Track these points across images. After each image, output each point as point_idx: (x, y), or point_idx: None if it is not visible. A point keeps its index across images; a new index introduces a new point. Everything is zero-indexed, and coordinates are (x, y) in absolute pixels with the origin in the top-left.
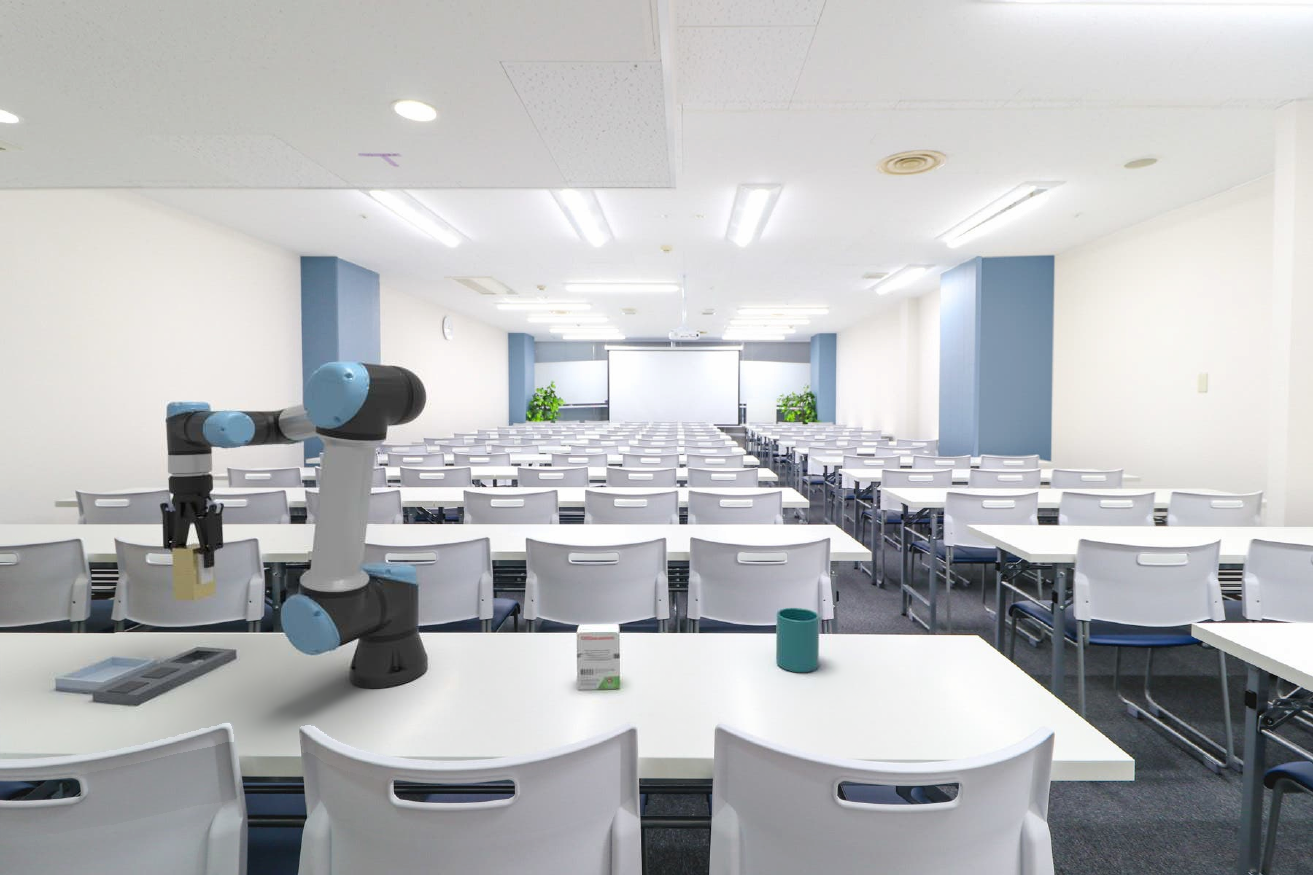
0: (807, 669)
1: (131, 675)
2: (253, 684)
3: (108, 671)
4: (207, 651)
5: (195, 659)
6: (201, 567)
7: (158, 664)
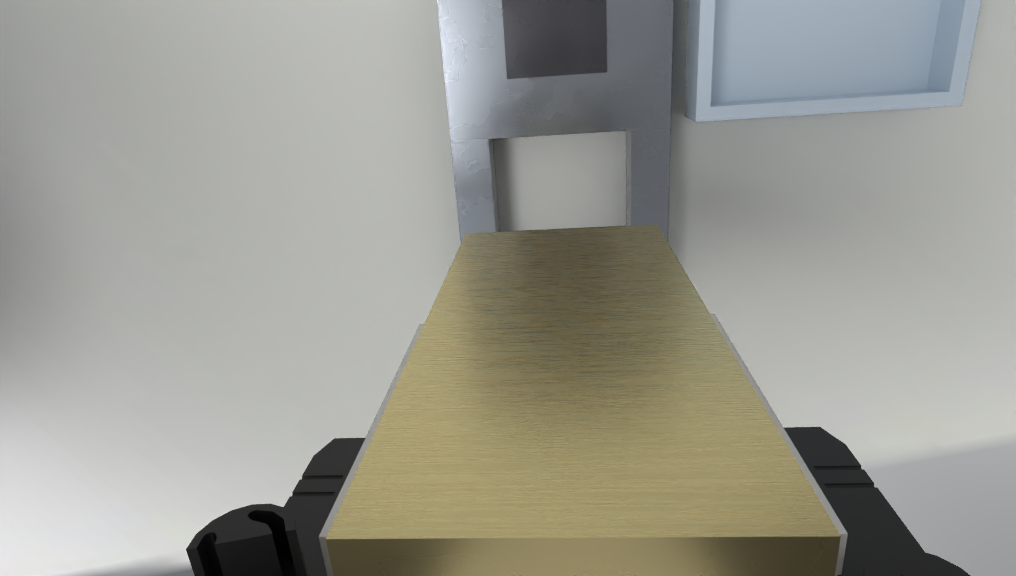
0: None
1: None
2: (173, 104)
3: (879, 23)
4: None
5: None
6: (377, 413)
7: (657, 97)
